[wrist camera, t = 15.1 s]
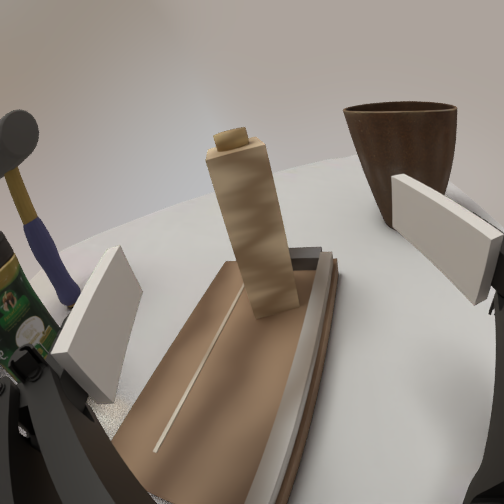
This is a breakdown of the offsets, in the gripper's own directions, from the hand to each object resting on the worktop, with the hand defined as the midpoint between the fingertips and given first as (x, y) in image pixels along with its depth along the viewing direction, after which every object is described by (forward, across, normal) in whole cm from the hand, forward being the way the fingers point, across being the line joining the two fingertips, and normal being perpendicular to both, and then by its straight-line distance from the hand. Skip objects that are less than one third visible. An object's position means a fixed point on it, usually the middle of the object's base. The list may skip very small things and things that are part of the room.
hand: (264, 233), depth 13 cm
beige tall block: (+10, 0, -12) cm, 15 cm away
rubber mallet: (+21, -30, -14) cm, 39 cm away
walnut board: (+4, -4, -14) cm, 15 cm away
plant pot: (+20, +21, -14) cm, 32 cm away
